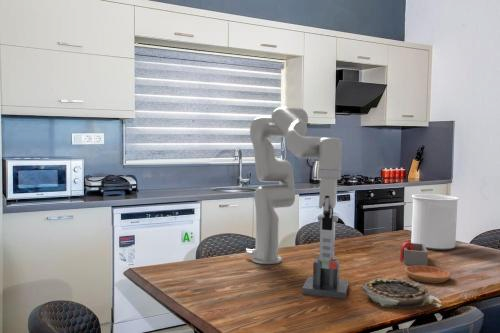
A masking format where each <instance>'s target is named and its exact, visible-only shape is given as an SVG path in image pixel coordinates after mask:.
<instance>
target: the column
mask: <svg viewBox="0 0 500 333" xmlns="http://www.w3.org/2000/svg"><path fill="white" fill-rule="evenodd" d="M322 218H323V214H319V215H318V216H317V222H318V221H320V223H319V226H320V227H319V233H320V234H319V253H318V254H319V256H318V257H319V262H321V268H326V269H329V261H334V259H335V246H336V245H335V243H336V222H337V223H338V220H339V215H332V216H331V218H332V230H323V229H322Z"/></svg>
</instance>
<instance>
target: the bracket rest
mask: <svg viewBox="0 0 500 333" xmlns="http://www.w3.org/2000/svg"><path fill="white" fill-rule="evenodd" d="M405 242H406V241H405ZM405 242H402V245H403V244H404V243H405ZM412 244H413V247H414V251H413V250H408V247H407V248H404V262H403V265H404V264H405V266H428V257H429V256H428V255H429V254H428V253H429V252H428V249H426V247H425V245H424V244H418V243H412Z"/></svg>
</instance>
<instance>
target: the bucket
mask: <svg viewBox="0 0 500 333" xmlns="http://www.w3.org/2000/svg"><path fill="white" fill-rule="evenodd" d="M411 197H412V214H411V215H412V217H411V238H410V243H418V244H424V245H425V247H426V249H427V250H430V251H450V250H454V249H455V248H456V238H457V237H456V236H457V219H458V218H457V217H458V214H457V213H458V201H459V200H460V198H459V197H458V196H457V197H456V196H454V195H453V196H452V195H445V194H433V193H432V194H431V193H429V194H427V193H423V194H422V193H417V194H412V195H411Z"/></svg>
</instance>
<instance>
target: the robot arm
mask: <svg viewBox="0 0 500 333" xmlns="http://www.w3.org/2000/svg"><path fill="white" fill-rule="evenodd" d="M308 122H309V115H308V113H307V112H306V111H305V109H304V108H300V107H289V106H279V107H277V108H275V109H274V110H273V112H272V113H271V116H258V117H256V118H253V120H252V122H251V124H250V126H249V127H250V128H249V137H250V140H251V144H252V147H253V153H254V163H255V173H256V175H255V176H256V178H257V180H258V181H259V182H262V183H278V184H268V185H267V184H266V185H261V186H258V187H257V188H256V189H255V191H254V194H253V198H254V205H255V248H253V249H251V248H246V249H245V254H246V255H252V256H251V262H253V263H256V264H259V265H260V264H261V265H262V264H263V265H275V264H279V263H281V262H282V261H283V260H282V257H281V256H279V233H280V232H279V230H280V228H279V226H280V220H279V216H278V214H277V212H276V211H275V209H278V208H289V207H292V206H293V205H294V203H295V202H296V200H295V199H296V191H295V190H296V189H295V177H294V176H295V175H294V170H293V166H292V164H291V162H290V161H289V160H287V159H276V154H275V153H276V152H275V148H274V145H273V144H272V142H271V141H270V140H269V139H268V138H280V139H281V138H282V139H283V138H284V140H285V141H284V142H285V145H286V148H287V149H288V150H289V151H290V152H291V153H292V154H293V155H294V156H295V157H297V158H298V159H316V160H317V159H318V166H317V167H318V170H317V173H318V175H317V176H318V177H317V179H319V180H320V185H319V199H318V200H319V201H318V208H319V209H321V210H322V215H323V218H322V229H323V230H332V218H331V216H334V208H335V207H336V203H337V195H338V194H337V193H338V180H339V181H340V180H341V179H342V156H343V155H342V153H343V152H342V150H343V143H342V142H343V141H342V139H341V138H338V137H326V136H325V137H324V136H306V134H307V131H308V126H307V125H308ZM322 208H323V209H322Z"/></svg>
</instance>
